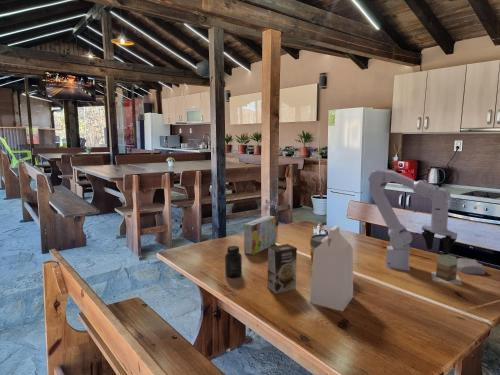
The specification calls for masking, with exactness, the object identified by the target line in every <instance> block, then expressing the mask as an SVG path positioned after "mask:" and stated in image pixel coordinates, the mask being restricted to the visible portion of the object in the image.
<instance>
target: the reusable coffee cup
mask: <svg viewBox="0 0 500 375" xmlns="http://www.w3.org/2000/svg"><path fill="white" fill-rule="evenodd" d="M328 235H329V233H328V234H327V233H326V234H325V233H319V234H318V233H317V234H314V235H311V236H310V240H309V241H310V242H309V245H310V252H309V253H310V259H311V262H312V263H313V253H314V250H315V249H316V248H317V247H318V246H319V245H320V244H322V243H323V242H322V241H321V240H322V239H323V238H324V237H326V236H328Z"/></svg>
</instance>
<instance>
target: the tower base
mask: <svg viewBox="0 0 500 375" xmlns="http://www.w3.org/2000/svg"><path fill="white" fill-rule="evenodd" d="M435 272H436V277H438V278H440V279H443V280H445V281H451V280H455V279H456V275H458V274H457V272H458V271H457V272H455V273H450V274H446V273H444V272H441V271H439V270H436V271H435Z"/></svg>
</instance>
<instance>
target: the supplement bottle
mask: <svg viewBox="0 0 500 375" xmlns="http://www.w3.org/2000/svg"><path fill="white" fill-rule="evenodd" d="M226 249H227V250H226V252H227V253H226V254H225V255H224V268H225V270H224V272H225V273H224V275H225V276H226V278H228V279H239V278H241V277H242V274H243V267H242V266H243V260H242V259H243V258H242V254H241V253H240V247H239V246H238V245H229V246H227V248H226Z"/></svg>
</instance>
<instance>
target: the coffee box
mask: <svg viewBox="0 0 500 375" xmlns="http://www.w3.org/2000/svg"><path fill="white" fill-rule="evenodd" d="M267 251H268V252H267V288H268V289H269V290H270V291H272V292H273V293H274V294H280V293H284V292H289V291H293V290H296V289H297V256H298V255H297V254H298V253H297V252H298V248H297V247H296V246H293V245H291V244H289V243H285V244H280V245H275V246H274V245H272V246H270V247H268V248H267Z"/></svg>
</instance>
